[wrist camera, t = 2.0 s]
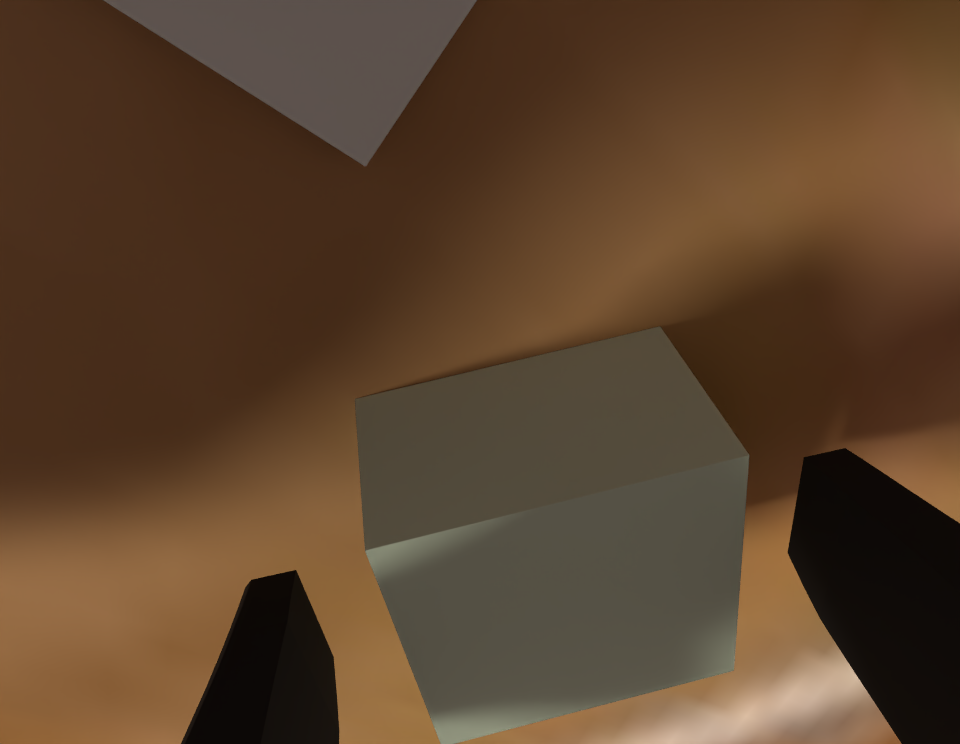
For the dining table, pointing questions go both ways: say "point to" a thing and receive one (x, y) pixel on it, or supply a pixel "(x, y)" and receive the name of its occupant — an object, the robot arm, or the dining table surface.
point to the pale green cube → (555, 531)
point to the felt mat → (315, 55)
